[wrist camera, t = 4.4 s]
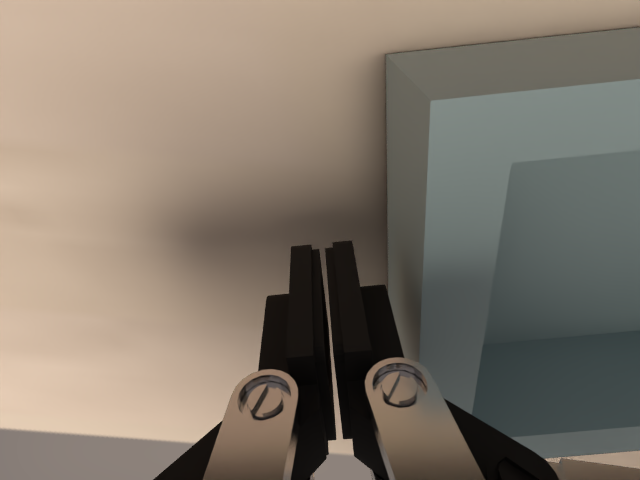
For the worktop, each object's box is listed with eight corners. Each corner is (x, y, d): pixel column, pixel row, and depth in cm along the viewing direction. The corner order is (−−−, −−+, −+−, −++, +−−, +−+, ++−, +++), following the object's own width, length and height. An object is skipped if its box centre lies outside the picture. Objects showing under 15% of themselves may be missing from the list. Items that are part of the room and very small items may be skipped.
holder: (871, 2, 11) (1193, 20, 7) (699, 327, 16) (819, 435, 13) (385, 54, 11) (430, 100, 7) (388, 355, 17) (414, 469, 13)
